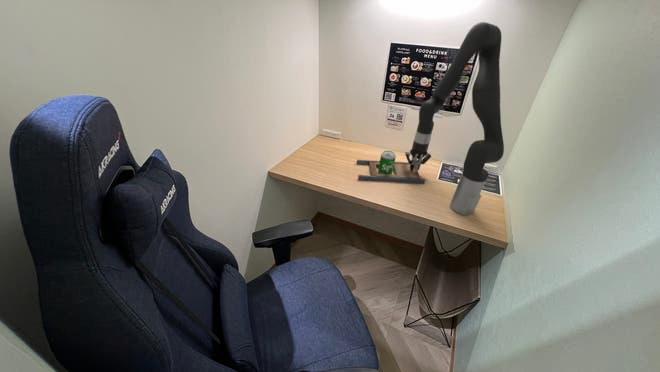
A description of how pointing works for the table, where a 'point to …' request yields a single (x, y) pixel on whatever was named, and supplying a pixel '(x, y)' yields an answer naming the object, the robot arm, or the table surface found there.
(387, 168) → the soda can
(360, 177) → the lane rails
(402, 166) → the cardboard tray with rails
